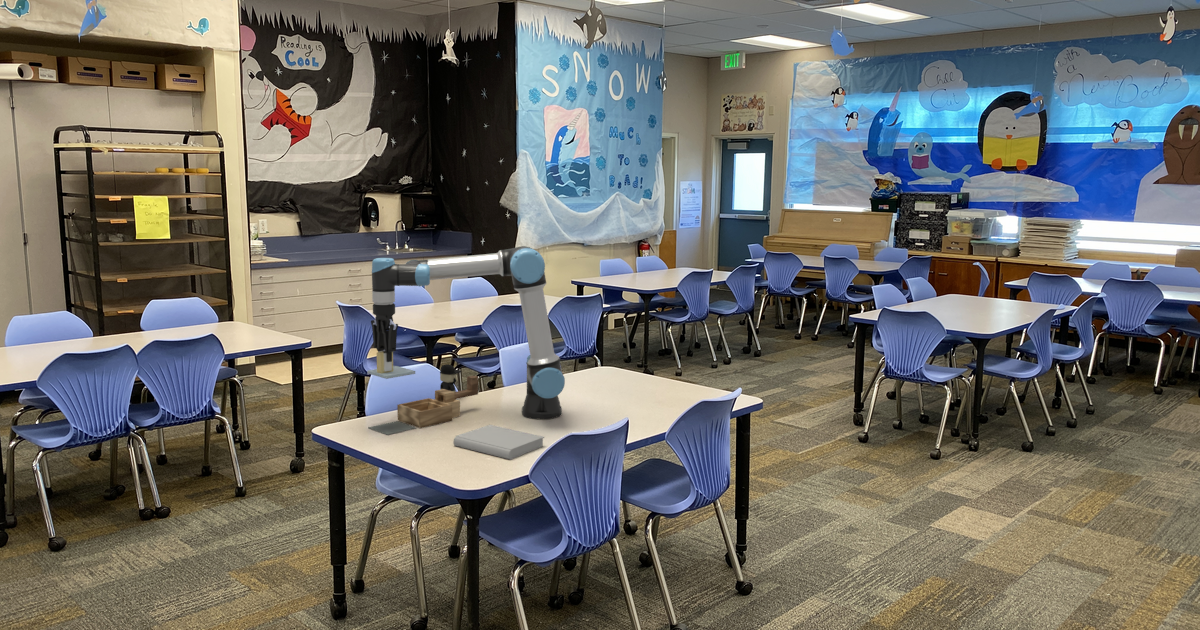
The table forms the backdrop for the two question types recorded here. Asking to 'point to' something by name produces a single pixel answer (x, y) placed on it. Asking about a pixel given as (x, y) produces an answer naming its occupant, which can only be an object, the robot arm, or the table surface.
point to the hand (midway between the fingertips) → (385, 369)
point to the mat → (392, 427)
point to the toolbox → (430, 410)
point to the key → (468, 388)
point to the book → (499, 441)
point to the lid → (393, 373)
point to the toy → (448, 377)
